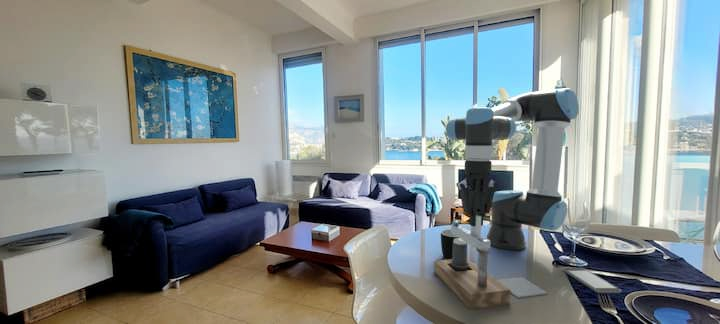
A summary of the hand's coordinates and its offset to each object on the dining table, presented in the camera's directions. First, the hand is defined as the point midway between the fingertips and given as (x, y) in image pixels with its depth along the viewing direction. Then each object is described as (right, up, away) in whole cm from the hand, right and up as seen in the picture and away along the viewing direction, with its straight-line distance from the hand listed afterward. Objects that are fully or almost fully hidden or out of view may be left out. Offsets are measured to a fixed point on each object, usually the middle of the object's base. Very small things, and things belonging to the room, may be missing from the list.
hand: (475, 236), depth 89 cm
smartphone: (+38, -16, +3) cm, 41 cm away
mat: (+13, -16, -1) cm, 20 cm away
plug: (-3, -15, +5) cm, 16 cm away
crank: (-2, -2, -1) cm, 3 cm away
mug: (-1, -14, +22) cm, 26 cm away
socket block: (-2, -16, 0) cm, 16 cm away
